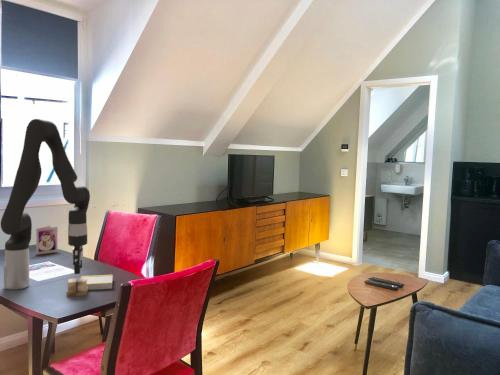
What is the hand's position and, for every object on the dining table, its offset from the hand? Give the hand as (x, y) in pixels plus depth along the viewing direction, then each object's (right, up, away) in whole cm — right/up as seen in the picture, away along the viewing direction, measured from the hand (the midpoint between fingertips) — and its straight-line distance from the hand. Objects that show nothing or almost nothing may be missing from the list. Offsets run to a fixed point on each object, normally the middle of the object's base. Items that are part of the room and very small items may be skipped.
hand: (78, 270), depth 175 cm
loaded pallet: (-1, -10, +1) cm, 10 cm away
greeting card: (-47, -3, +66) cm, 81 cm away
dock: (+3, -9, +12) cm, 16 cm away
